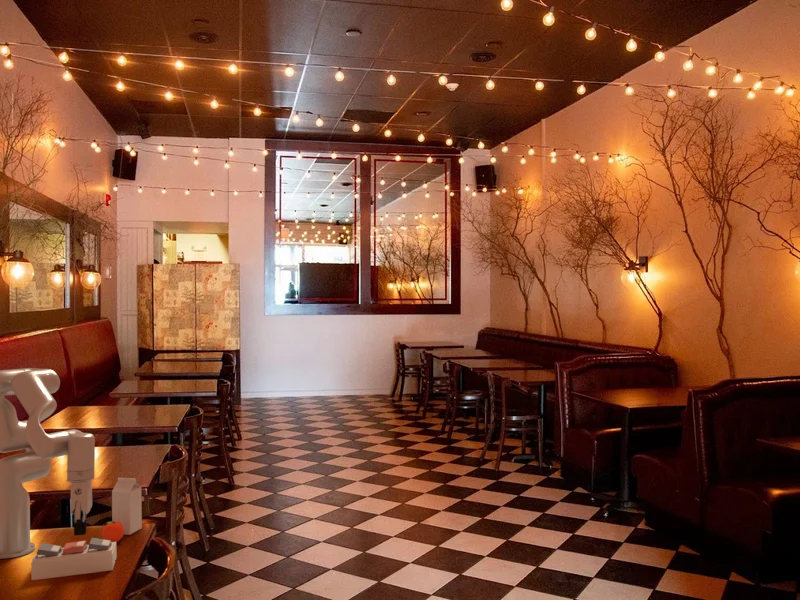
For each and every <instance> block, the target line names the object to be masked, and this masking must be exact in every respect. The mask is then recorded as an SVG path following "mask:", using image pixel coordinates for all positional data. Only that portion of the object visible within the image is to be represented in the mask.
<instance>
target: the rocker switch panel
mask: <svg viewBox="0 0 800 600" xmlns="http://www.w3.org/2000/svg"><path fill="white" fill-rule="evenodd" d="M88 547H89V544H86V547H85V549H84V551H80V552H74V553H68V554H63V548H64V547H61V550H60V552H59V554H58V556H46V555H39V554H37V552H36V553H35V555H34V556H33V557H32V561H31V563H30V565H31V567H30V569H31V577H30V578H31V581H36V580H37V581H38V580H43V579H44V580H45V579H52V578H60V577H61V578H62V577H68V576H69V577H70V576H77V575H83V574H93V573H101V572H107V571H113V570H114V566H115V564H116V561H117V542H110V546H109V548H108V550H97V549H89V548H88ZM115 560H116V561H115Z"/></svg>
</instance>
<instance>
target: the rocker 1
mask: <svg viewBox="0 0 800 600" xmlns="http://www.w3.org/2000/svg"><path fill="white" fill-rule="evenodd" d="M61 548H62V545H56V544H50V543H43V542H42V543H41V544H40V546H39V547H38V549H37V550H36V553H37V554H39V555H46V556H58V554H59V552H60V550H61Z"/></svg>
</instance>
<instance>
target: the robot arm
mask: <svg viewBox="0 0 800 600" xmlns="http://www.w3.org/2000/svg"><path fill="white" fill-rule="evenodd" d="M60 386H61V380H60V377H59V375H58V374H57V372H55V371H54V369H50V368H37V367H27V368H15V369H14V368H13V369H2V370H0V454H1V453H2V454H3V453H5V454H6V453H12V452H15V451H16V452H18V451H22V450H25V451H26V452H24V453H18V454H14V455H8V456H6V457H5V456H4V457H3V458H0V559H1V560H2V559H12V558H17V557H22V556H25V555H27V554H30V553H32V552H33V551H35V550H36V544H35V543H34V542H31V510H30V509H31V506H30V505H31V504H30V503H31V502H30V500H31V498H30V497H31V496H30V493H29V492H28V490H27V489H26V488H25V486H24V485H23V484H24V483H27V482H28V483H29V482H31V481H36V480H39V479H42V478H45V477H47V476H48V475H49V473H50V472H51V468H52V462H51V461H52V460H51V459H54V458H57V457H62V456H66V457H67V458H66V459H67V470H66V473H67V475H66V478H67V479H66V481H67V482H68V483H70V514H71V515H72V516H74V523H73V535H74V536H84V535H86V534H87V515H88V514H89V513H90V512H91V509H92V507H93V485H92V484H93V483H92V481H93V480H94V479H95V464H96V463H95V457H96V456H95V455H96V454H95V451H96V450H95V449H96V446H95V445H96V444H95V443H96V441H95V439H96V438H95V436H94V434H93V433H91V432H90V433H89V432H82V431H81V430H78V429H67V430H63V431H61V430H60V431H56V432H51V433H46V432H45V429H44V427H43V425H42V424H41V423H42V421H45V420H46V419H47V418H49V417H50V416H51V415H52V414H53V413H55V411H56V410H57V406H58V404H57V401H56V399H55V398H54V397H53V395H52V394H54V393H56V392H57V391H58V390H59V389H60ZM14 395H15V397H16V398H17V399H18V401H19V402H20V404H21V406H22V407H23V408H24V410H25V412H26V413H27V415H28V416H29V417H28V419H27V420H26V419H25V420H19V419H18V415H17V410H16V407H15V406H14V405H13V403H12V402H11V401H10V400H8V399H7V398H6V397H5V396H14Z"/></svg>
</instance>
